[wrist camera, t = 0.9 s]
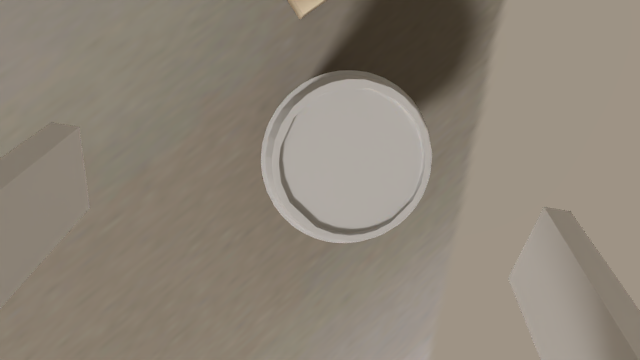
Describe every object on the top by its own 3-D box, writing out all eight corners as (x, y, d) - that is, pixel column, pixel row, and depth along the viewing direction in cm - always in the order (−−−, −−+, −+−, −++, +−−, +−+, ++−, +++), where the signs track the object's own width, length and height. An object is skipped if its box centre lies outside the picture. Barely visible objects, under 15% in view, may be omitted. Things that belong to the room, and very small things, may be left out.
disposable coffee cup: (396, 108, 36) (470, 116, 24) (345, 217, 37) (393, 274, 25) (285, 55, 34) (308, 35, 22) (235, 172, 35) (232, 211, 23)
